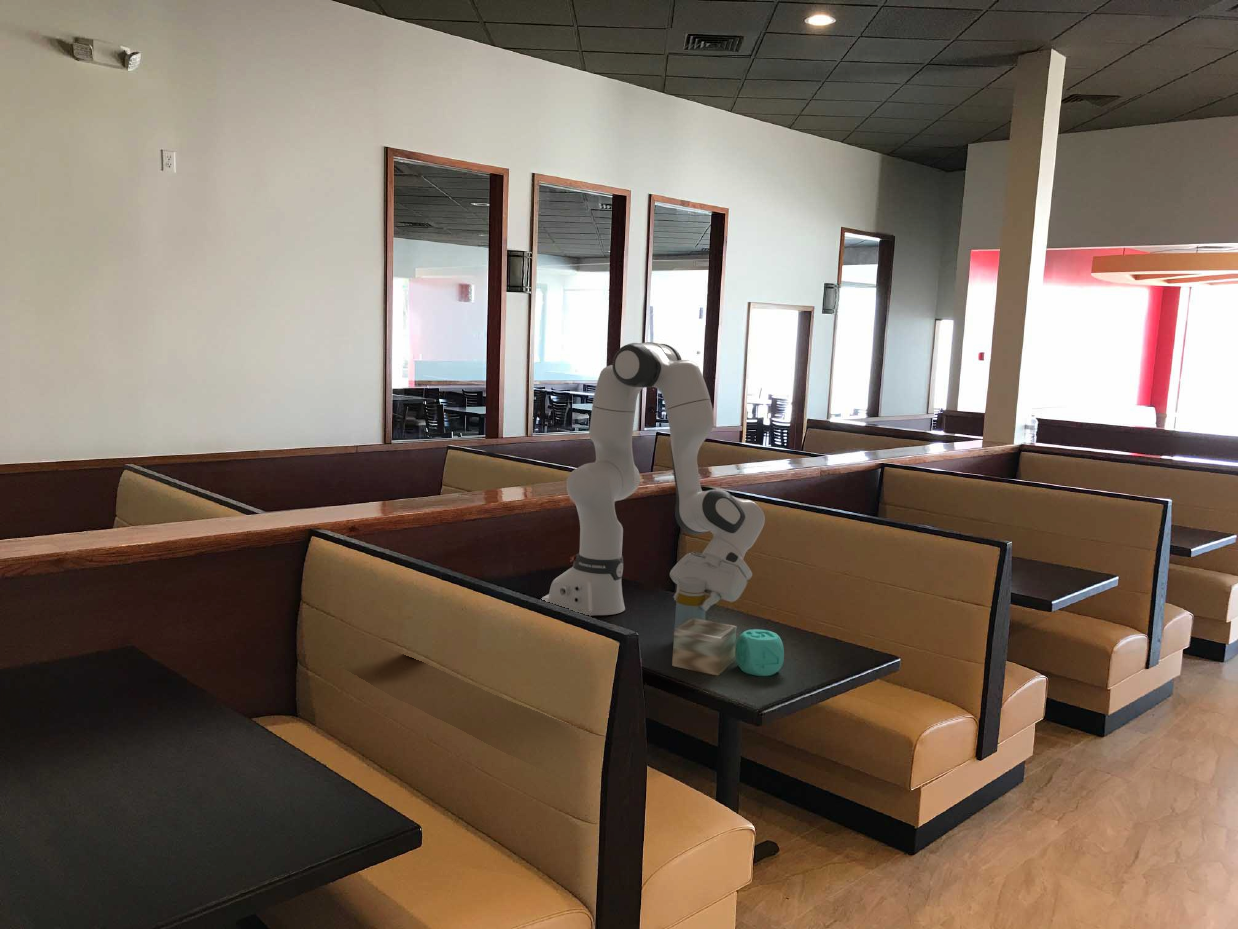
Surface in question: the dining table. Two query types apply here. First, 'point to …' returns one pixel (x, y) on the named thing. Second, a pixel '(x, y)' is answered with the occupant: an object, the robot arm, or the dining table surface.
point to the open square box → (704, 646)
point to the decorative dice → (759, 652)
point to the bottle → (689, 600)
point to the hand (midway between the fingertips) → (689, 604)
